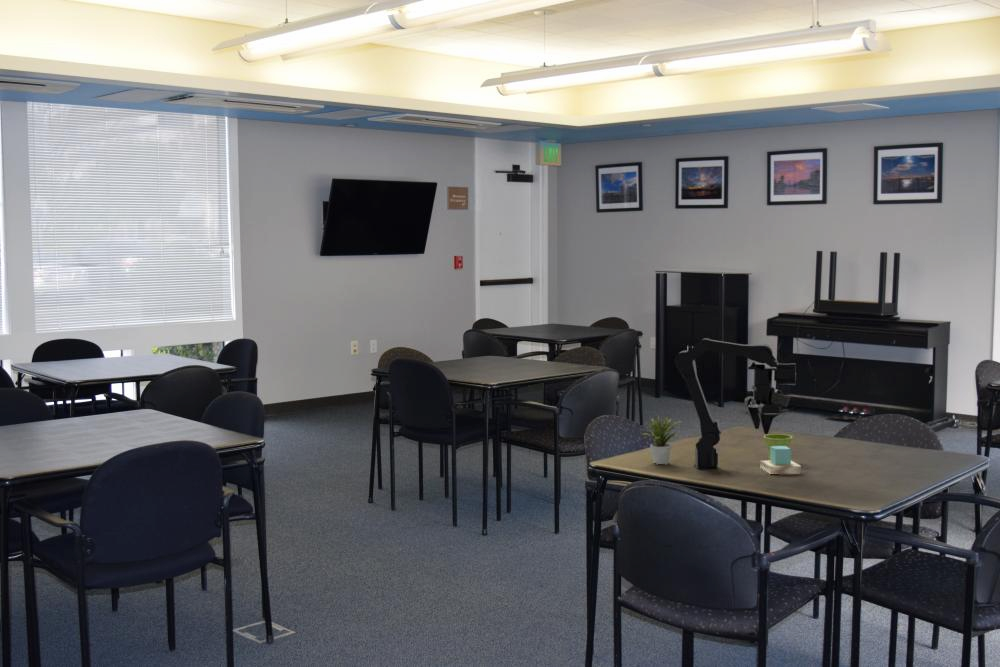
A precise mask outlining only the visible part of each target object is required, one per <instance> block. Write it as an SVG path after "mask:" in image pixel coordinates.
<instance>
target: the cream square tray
mask: <svg viewBox="0 0 1000 667" xmlns="http://www.w3.org/2000/svg"><path fill="white" fill-rule="evenodd" d="M759 464H760V465H759V466H760V467H759V468H760V469H761V468H762V469H763V470H762V469H761V470H762V471H764V470H765V471H766V473H767V472H768V473H769V475H770V474H780V475H801V474H802V465H800V464H799V463H797V462H795V461H794V460H792V459H791V464H787V465H775V464H773V463H772V462H770V460H769V459H767V460H760V461H759ZM765 471H764V472H765ZM768 473H767V474H768Z"/></svg>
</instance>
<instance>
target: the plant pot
mask: <svg viewBox="0 0 1000 667" xmlns="http://www.w3.org/2000/svg"><path fill="white" fill-rule="evenodd" d="M763 438H764V442H765V443H766V444H765V445H766V450H767V458H768V459H767V460H770V446H786V447H788V448H790V446H791V443H792V439H793V435H789V434H782V433H771V434H769V433H768V434H764V435H763Z"/></svg>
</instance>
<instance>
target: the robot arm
mask: <svg viewBox="0 0 1000 667" xmlns="http://www.w3.org/2000/svg"><path fill="white" fill-rule="evenodd" d="M706 352H712V353H718V354H724V355H729V356H735V357H736V356H738V357H742V358H746V359H749V360H750V361H752V363H751V364H750V365H748V368H747V369H748V370H753V385H751V390H753V393H752V394H753V396H747V397H746V398H744V406H745V408H746V410H747V412H748V415H749V417H750V420H751V421H752V424H753V426H754V429H756V430H759V428H760V424H761V428H762V431H763V433H764V435H768V434H769V432H770V429H771V426H772V423H773V421H774V419H775V418H776V417H777V416H779V415H780V414H782V407H781V406H780V405H782V406H783V407H788V404H789V401H790V398H791V397H790V396H787V395H785V394H783V391H781V390H780V389H775V387H774V386H773V381H775V382H776V383H777V384H778V385H787V386H788V385H790V386H791V385H792V386H796V384H797V382H796V381H797V372H796V369H797V368H796V365H797V364H796V363H795V362H793V363H792V362H791V363H779V361H778V360H777V359H776V357H775V356H774V351H773V348H772V347H771V346H770V345H768V344H765V343H759V344H758V343H753V344H752V343H751V344H743V343H735V342H729V341H722V340H716V339H711V338H708V337H706V338H702V340H700V341H699V342H698V343H697V344H695V345H694V346H693V347H691V348H689V349H688V350H686V349H685V350H682V351H680V352H679V353H677V354H676V356H675V358H674V363H675V364H674V365H675V366H676V368H677V369H678V372H679V373H680V375H681V376H682V377H683V380H685V382H686V385H687V388H688V391H689V394H690V396H691V400H692V402H693V405H694V408H695V411H696V414H697V416H698V419H699V426H700V434H701V436H700V438H699V439H697V441H696V443H695V448H694V450H695V452H694V453H695V454H694V458H695V460H694V461H695V463H693V466H694V465H695V467H696V468H697V469H698V468H699V469H698V470H701V469H700V468H712V469H718V468H719V467H718V466H719V454H718V453H717V448H715V446H717V445H718V444H719V442H720V441H721V439H722V432H723V430H724V429H723V428H722V427H721V424H720V420H719V418H717V419H714V417H713V415H712V414H711V412H710V408H709V405H708V403H707V400H706V398H705V395H704V391H703V389H702V386H701V383H700V380H699V377H698V372H697V365H696V360H697V359H698V358H699V357H701V356H702V355H703V354H705V353H706ZM756 362H757V363H756ZM766 365H768V366H767V367H766ZM773 372H774V375H773ZM773 376H774V377H773ZM773 378H774V379H773Z"/></svg>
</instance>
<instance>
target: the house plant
mask: <svg viewBox="0 0 1000 667" xmlns="http://www.w3.org/2000/svg"><path fill="white" fill-rule="evenodd" d="M650 420H651V425H650V424H649V423H648V422H646V421H644V423H645V424H646V425H647V426H648V427H649V428H650V430H651V432H652V433H651V434H650V433H648V432H644V433H642V435H645V436H649V437H651V438H652V439H653V441H654V442H653V443H650V445H649V446H650V450H651V456H652V461H653V462H654V463H657V464H656V465H658V464H665V465H668V463H669V464H670V457H671V453H672V452H671V450H672V444H671V443H668V441H670V439H671V438H674V439H678V438H677V437H678V435H676V434H677V433H678V431H675V432H674V433H672V432H671V431H672V430H674V429H677V428H680V426H678V425H679V423H682V422H683V420H682V421H681V420H680V421H677V422H672V423H670V422H671V421H672V418H670V419H669V415H668V416H666V418H665V420H664V422H663V424H662V421H661V420H660V416H659V415H657V420H658V421H657V420H654V418H652V417H651V419H650ZM654 463H653V464H654Z"/></svg>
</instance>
